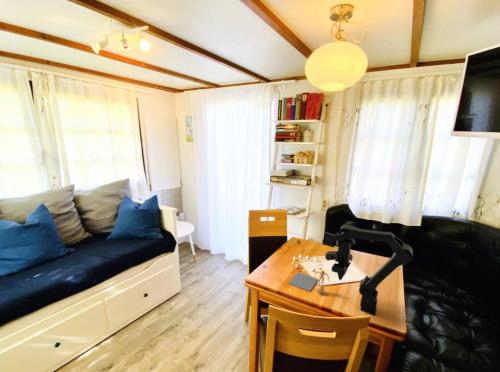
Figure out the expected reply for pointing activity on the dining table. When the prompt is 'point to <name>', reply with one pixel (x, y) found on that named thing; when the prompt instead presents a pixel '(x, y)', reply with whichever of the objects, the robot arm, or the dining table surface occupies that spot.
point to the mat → (303, 281)
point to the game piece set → (307, 257)
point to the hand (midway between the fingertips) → (341, 277)
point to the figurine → (320, 287)
